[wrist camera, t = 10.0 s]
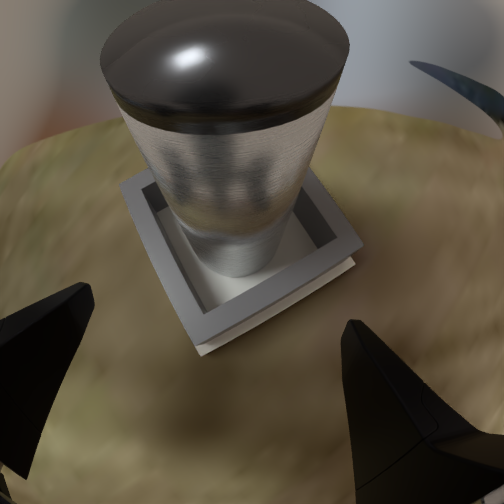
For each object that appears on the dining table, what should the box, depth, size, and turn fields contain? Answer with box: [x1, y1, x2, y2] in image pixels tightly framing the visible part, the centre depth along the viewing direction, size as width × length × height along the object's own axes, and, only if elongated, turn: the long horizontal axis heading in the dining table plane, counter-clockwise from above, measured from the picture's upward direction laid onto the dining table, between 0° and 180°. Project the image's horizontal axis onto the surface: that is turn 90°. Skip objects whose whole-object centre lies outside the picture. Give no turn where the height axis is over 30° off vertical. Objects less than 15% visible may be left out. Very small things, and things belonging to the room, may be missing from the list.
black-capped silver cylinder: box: [100, 0, 350, 277], centre depth 10 cm, size 5×5×12 cm
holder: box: [119, 167, 364, 356], centre depth 16 cm, size 10×10×4 cm
